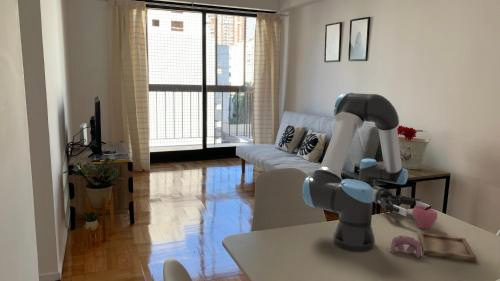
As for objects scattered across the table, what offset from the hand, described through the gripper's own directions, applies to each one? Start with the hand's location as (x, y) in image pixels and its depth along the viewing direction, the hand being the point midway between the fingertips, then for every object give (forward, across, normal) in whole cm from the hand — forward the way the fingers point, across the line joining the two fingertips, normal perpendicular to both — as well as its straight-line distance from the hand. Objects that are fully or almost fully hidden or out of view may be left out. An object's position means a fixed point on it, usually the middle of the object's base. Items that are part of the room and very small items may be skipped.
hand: (417, 210), depth 161 cm
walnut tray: (+21, +10, -6) cm, 24 cm away
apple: (+4, +1, -6) cm, 7 cm away
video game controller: (+18, +26, -6) cm, 32 cm away
